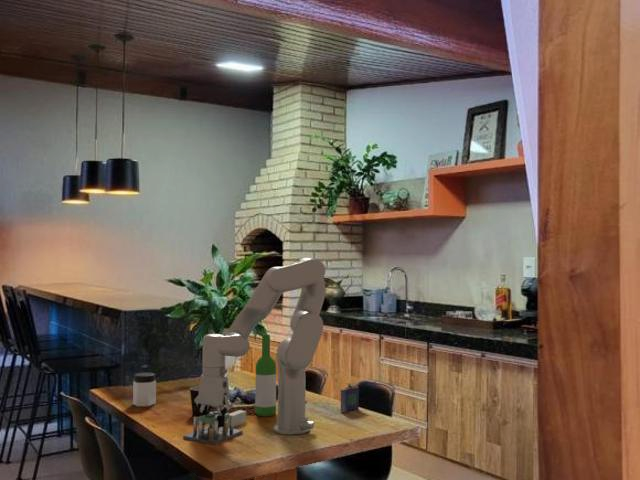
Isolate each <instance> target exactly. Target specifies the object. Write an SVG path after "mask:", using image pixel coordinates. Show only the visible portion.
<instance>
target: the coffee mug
mask: <svg viewBox="0 0 640 480" xmlns="http://www.w3.org/2000/svg"><path fill="white" fill-rule="evenodd" d="M189 393H190V394H189V395H190V401H191V411H192V413H191V414H192V416H193V417H199V416H201V412H200V409H199V408H198V406H197V404H196V402H195V398H196V397H197V396H198V395H199V385H197V386H192V387H190V388H189ZM213 407H214V406H209V408H208V410H207V411H209V412H211V409H212V408H213Z"/></svg>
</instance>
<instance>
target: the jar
mask: <svg viewBox="0 0 640 480" xmlns="http://www.w3.org/2000/svg"><path fill="white" fill-rule="evenodd" d="M132 404H133V405H134V406H136V407H151V406H154V405H156V404H157V380H156V373H153V372H138V373H135V374H134V380H133V381H132Z"/></svg>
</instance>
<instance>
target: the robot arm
mask: <svg viewBox="0 0 640 480" xmlns="http://www.w3.org/2000/svg"><path fill="white" fill-rule="evenodd" d="M325 276H326V266H325V265H324V263H323V261H322V260H320V259H318V258H315V257H314V258H312V257H304V258H300V259H299V260H298V261H297V262H296V263H293V264H289V265H285V266H272V267H271V268H268V270H267V271H266V272H265V274H264V275H263V277H262V278H261V280H260V282H259V283H258V285H257V286H256V288H255V290H254V291H253V293H252V294H251V296H250V298H249V300H248V301H247V303H246V304H245V305H244V307H242V310H241V311H240V312H239V313H238V314H237V316H235V317H236V318H235V319H234V320H233V322H232V323H231V325H230V326H229V328H228V330H227V332H226V333H225V335H224V334H220V333H208V334H205V335H204V336H203V338H202V365H201V367H202V372H201V373H202V374H201V375H200V379H199V385H198V386H199V395H198V396H197V397H196V398H195V402H196V404H197V406H198V408H199V409H200V412H201V416H202V415H206V414H209V411H207V410H208V408H209V406H213V407H215V408H216V410H217V412H218V414H219V415H218V416H217V421H218V428H220V427H223V426H224V423H225V414H226V413H228V412H229V411H230V409H231V408H232V407H233V403H232V402H231V399H230V386H229V385H230V384H229V379H228V375H227V373H228V369H226V356H227V357H234V358H239V357H243V356H245V355H246V354H247V353H248V352H249V350H250V345H251V344H250V341H249V339H248V338H249V337H250V335H251V334H252V332H253V331H254V329H255V327H257V325H258V324H259V323H260V322H262V321H263V320H265V319H266V318H268V316H269V315H271V312H272V311H273V309H274V307H275V306H276V305H277V302H278V301H279V299H280V297H281V296H282V294H283V293H287V292H291V291H294V290H299V289H300V291H301V292H300V294H299V298H298V301H297V303H296V306H295V309H294V311H293V314H292V316H291V318H290V323H289V325H290V329H291V331H292V335H291V337H289V338H288V337H287V338H285V339H283V340H282V341H281V342H280V343H279V345H278V347H277V349H276V363H277V364H276V366H277V385H278V396H277V423H275V425H273V428H272V429H273V431H274V432H275V433H277V434H281V435H287V436H288V435H292V436H293V435H301V434H305V433H309V431H310V430H314V428H315V422H314V421H309V417H308V416H306V396H305V394H306V378H307V377H306V369H307V368H308V367H309V366H310V365H311V363H312V361H313V359H314V357H315V354H316V351H317V348H318V346H319V343H320V340H321V338H322V336H323V335H322V334H323V332H324V321H323V318H322V317H321V316H320V314H321V310H322V308H323V305H324V302H325V297H326V283H325V279H324V277H325ZM205 425H206V424H203V426H205Z"/></svg>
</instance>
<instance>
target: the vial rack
mask: <svg viewBox="0 0 640 480" xmlns="http://www.w3.org/2000/svg"><path fill="white" fill-rule="evenodd" d="M212 412H213V411H210V412H209V413H212ZM243 433H244V431H243V430H241V429H236V428H234V427H233V415H230V427H228V422H227V419H225V423H224V426H223V427H220V428H218V421H214V424H211V425H209V424H208V426H206V427H205V425H203V421H202V420H200V421H199V423H198V422H196V417H195V416H193V431H192V432H190V433H189V432H188V433H187V434H185V435H182V436H183V440H188V441H193V442H199V443H204V444H208V445H212V446H215V445H218V444H220V443H223V442H225V441H227V440H229V439H232V438H235V437H237V436H239V435H243Z"/></svg>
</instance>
